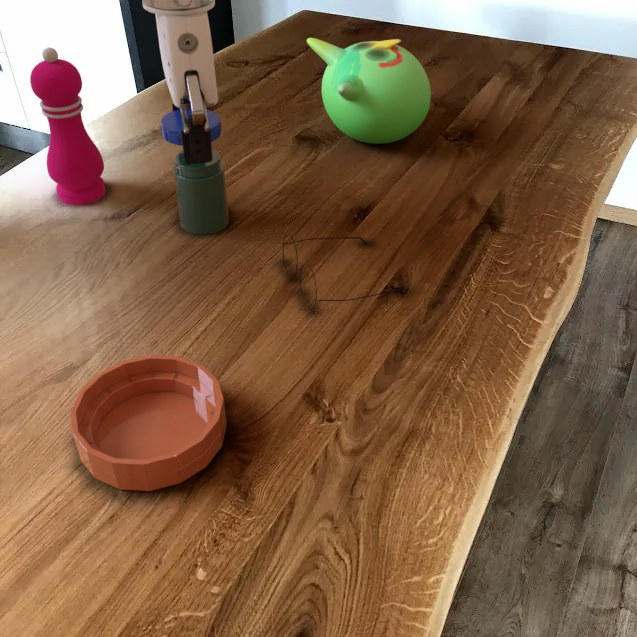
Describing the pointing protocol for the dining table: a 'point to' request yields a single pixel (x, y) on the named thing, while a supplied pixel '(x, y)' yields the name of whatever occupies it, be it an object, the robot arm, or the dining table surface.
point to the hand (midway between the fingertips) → (193, 146)
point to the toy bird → (373, 89)
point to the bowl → (149, 422)
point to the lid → (174, 126)
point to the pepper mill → (67, 132)
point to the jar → (201, 195)
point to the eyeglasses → (313, 273)
